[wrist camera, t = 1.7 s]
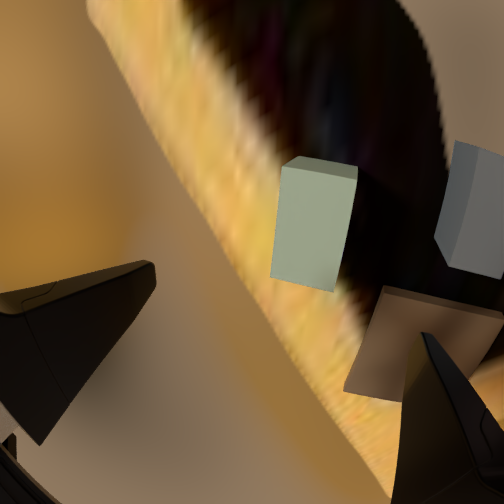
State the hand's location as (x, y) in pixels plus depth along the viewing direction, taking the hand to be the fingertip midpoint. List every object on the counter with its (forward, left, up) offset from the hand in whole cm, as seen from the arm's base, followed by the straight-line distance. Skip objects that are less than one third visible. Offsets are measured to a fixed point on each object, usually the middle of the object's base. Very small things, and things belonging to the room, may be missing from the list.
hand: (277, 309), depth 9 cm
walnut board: (-10, +9, -10) cm, 17 cm away
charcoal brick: (-9, -3, -10) cm, 14 cm away
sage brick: (0, 0, -10) cm, 10 cm away
